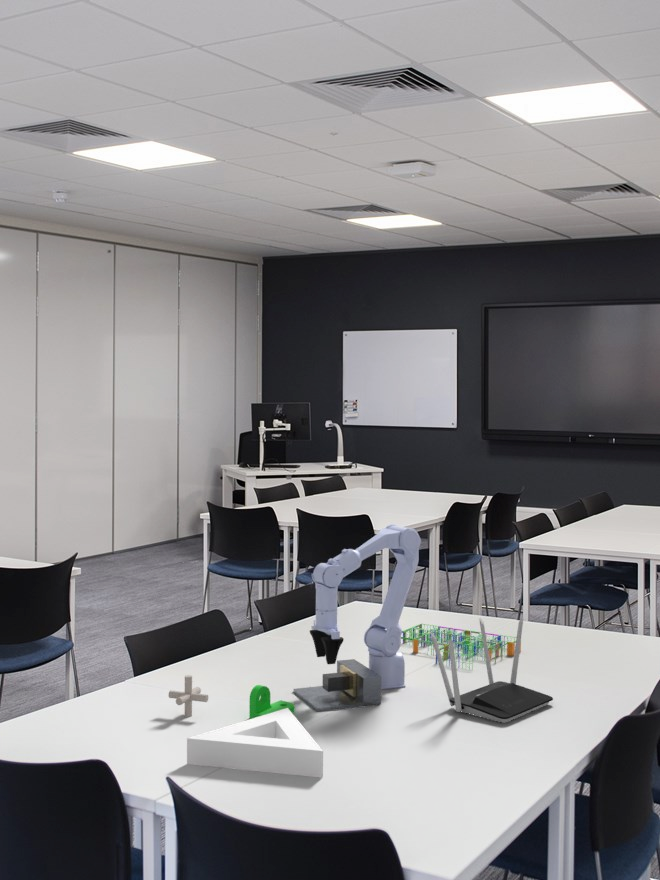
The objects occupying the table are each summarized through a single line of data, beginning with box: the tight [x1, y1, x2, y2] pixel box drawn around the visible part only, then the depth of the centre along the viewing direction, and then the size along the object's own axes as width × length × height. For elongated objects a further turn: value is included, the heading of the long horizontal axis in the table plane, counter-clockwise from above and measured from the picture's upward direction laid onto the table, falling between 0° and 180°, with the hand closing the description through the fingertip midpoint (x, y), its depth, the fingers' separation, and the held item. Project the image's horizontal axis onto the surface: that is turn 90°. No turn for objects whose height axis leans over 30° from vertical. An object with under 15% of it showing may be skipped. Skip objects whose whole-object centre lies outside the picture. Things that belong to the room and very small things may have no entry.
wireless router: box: [429, 617, 554, 724], centre depth 256 cm, size 34×23×20 cm
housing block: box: [293, 658, 382, 713], centre depth 262 cm, size 18×18×8 cm
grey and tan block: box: [322, 665, 356, 697], centre depth 262 cm, size 11×9×6 cm
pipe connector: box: [168, 674, 209, 718], centre depth 246 cm, size 10×10×10 cm
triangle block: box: [186, 708, 324, 779], centre depth 217 cm, size 30×26×6 cm
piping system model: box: [401, 623, 522, 671], centre depth 310 cm, size 35×30×5 cm
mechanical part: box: [249, 684, 295, 719], centre depth 248 cm, size 12×6×8 cm, turn 143°
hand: (326, 660), depth 264 cm, fingers open, 7 cm apart
